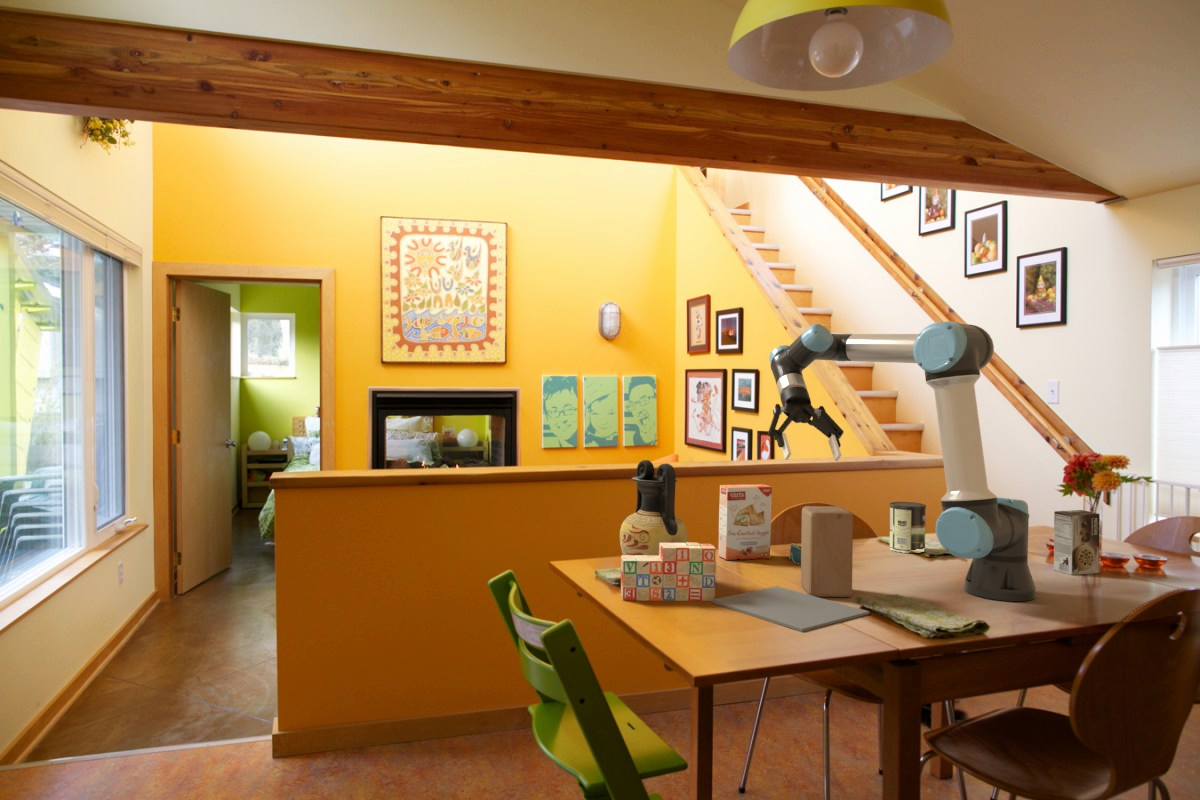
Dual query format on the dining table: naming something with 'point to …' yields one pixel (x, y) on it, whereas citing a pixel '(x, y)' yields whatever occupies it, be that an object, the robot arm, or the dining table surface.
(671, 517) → the amphora
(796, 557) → the sunglasses
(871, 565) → the dining table surface
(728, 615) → the dining table surface
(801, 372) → the robot arm
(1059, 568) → the grey food carton
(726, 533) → the cracker box
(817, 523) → the wooden block
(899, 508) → the coffee can
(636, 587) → the stack of blocks
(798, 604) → the mat
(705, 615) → the dining table surface
